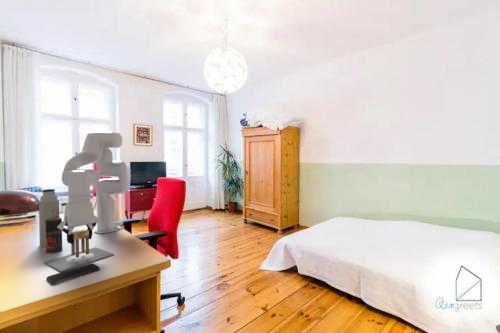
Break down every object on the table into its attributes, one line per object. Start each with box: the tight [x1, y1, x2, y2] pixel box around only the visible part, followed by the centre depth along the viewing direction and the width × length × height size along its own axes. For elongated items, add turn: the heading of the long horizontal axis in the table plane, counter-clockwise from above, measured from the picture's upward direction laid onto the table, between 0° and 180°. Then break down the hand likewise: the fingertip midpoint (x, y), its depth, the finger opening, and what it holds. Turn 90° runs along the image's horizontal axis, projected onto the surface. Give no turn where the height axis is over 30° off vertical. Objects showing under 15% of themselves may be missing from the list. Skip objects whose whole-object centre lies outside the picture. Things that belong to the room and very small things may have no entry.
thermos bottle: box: [38, 188, 60, 248], centre depth 124 cm, size 8×8×28 cm
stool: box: [70, 228, 90, 257], centre depth 104 cm, size 6×6×10 cm
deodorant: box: [45, 217, 63, 255], centre depth 114 cm, size 6×6×15 cm
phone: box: [46, 263, 101, 286], centre depth 90 cm, size 8×1×15 cm
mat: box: [43, 247, 115, 273], centre depth 105 cm, size 20×16×1 cm
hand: (80, 240), depth 104 cm, fingers closed on stool, 6 cm apart
